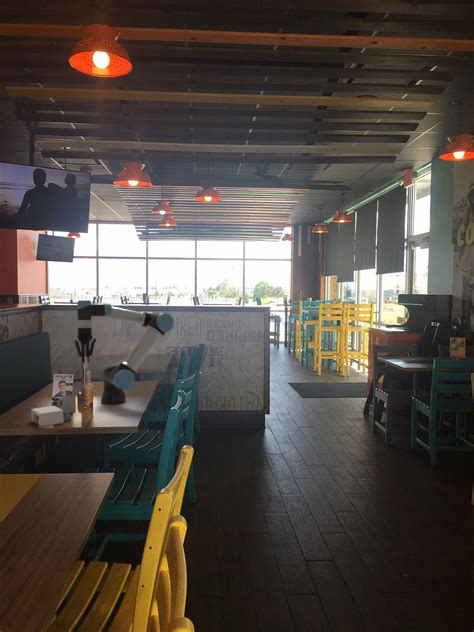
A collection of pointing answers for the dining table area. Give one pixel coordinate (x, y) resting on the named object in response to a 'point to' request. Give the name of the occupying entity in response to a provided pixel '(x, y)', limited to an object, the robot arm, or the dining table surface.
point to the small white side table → (47, 415)
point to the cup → (67, 403)
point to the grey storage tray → (65, 417)
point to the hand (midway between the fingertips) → (85, 368)
